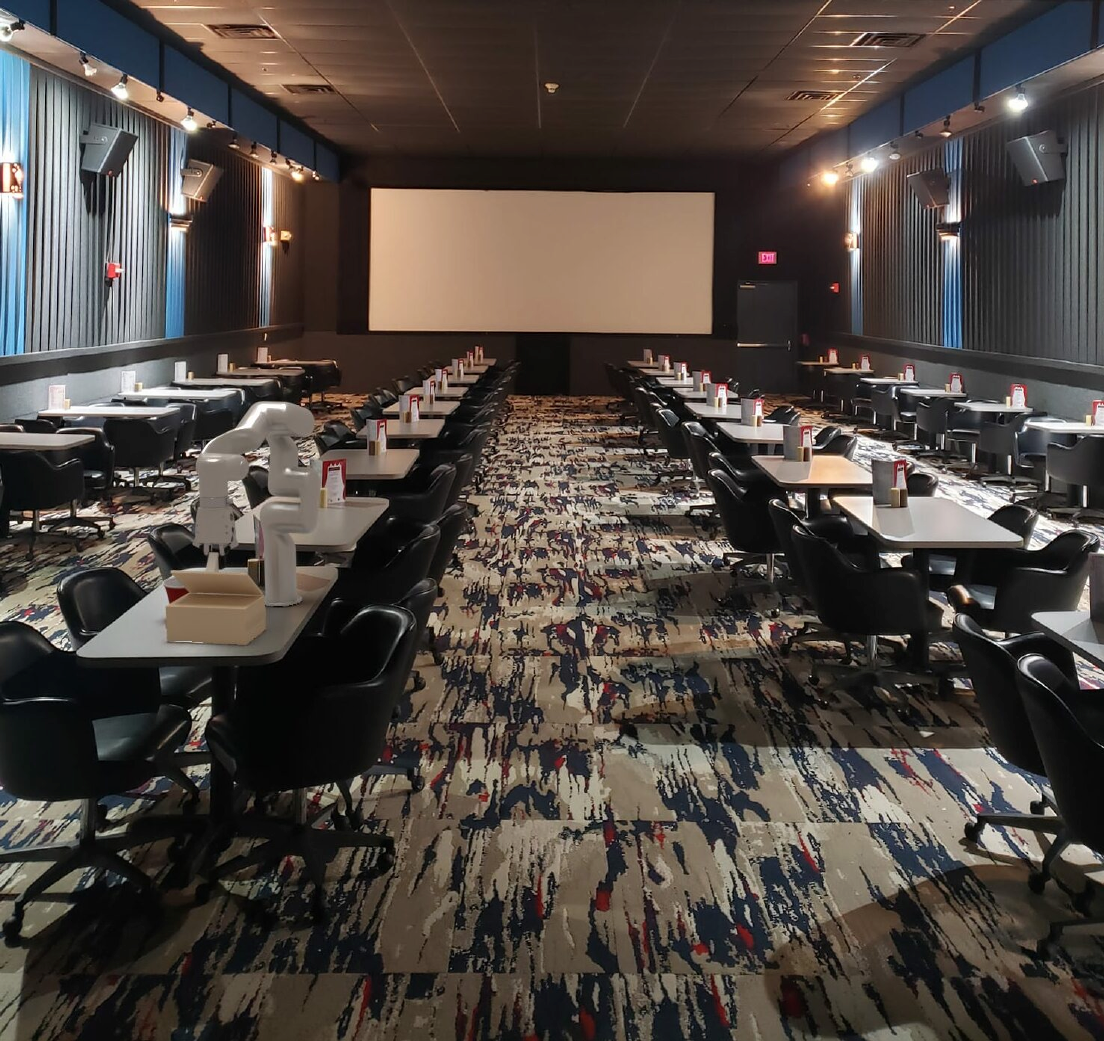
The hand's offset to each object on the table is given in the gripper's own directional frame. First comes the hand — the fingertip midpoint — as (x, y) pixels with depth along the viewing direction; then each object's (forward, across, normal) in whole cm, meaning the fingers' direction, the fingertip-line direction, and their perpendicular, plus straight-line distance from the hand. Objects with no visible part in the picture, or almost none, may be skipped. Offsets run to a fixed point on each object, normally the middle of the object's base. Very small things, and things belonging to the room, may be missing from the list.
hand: (216, 568), depth 323 cm
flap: (+5, 0, 0) cm, 5 cm away
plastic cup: (+19, +16, -14) cm, 29 cm away
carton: (+19, 0, +1) cm, 19 cm away
